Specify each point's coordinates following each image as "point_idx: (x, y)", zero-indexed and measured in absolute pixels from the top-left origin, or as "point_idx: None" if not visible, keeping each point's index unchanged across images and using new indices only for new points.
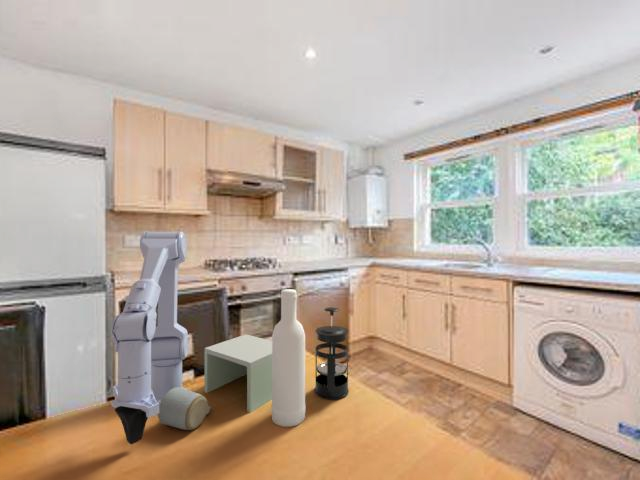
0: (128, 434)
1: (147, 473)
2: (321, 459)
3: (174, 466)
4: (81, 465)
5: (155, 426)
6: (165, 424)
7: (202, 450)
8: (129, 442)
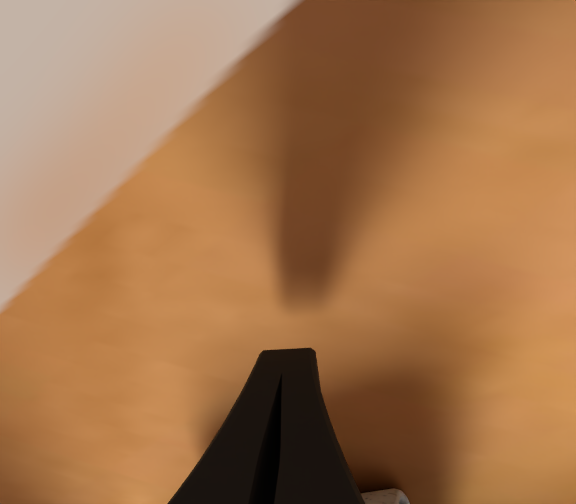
0: (244, 412)
1: (20, 301)
2: None
3: (7, 388)
4: (439, 21)
5: (438, 455)
6: (368, 495)
7: (59, 479)
8: (273, 356)
